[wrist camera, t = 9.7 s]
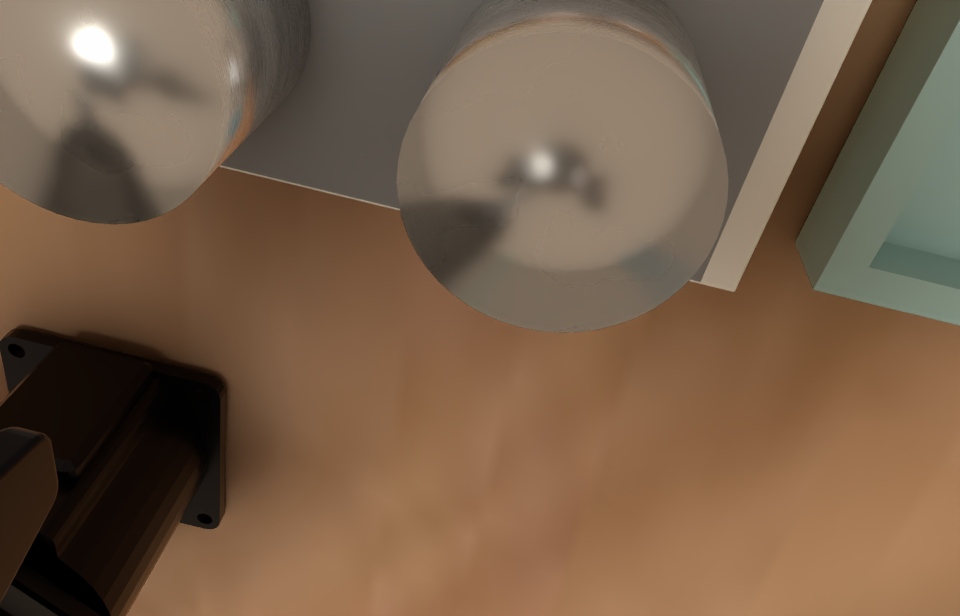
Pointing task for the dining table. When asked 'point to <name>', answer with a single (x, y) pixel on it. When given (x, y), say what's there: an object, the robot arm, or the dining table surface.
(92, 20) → the cylinder
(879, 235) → the tray
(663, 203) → the cylinder
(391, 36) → the scale
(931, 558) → the dining table surface
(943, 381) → the dining table surface
